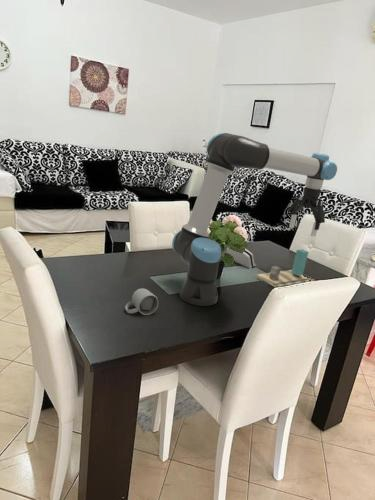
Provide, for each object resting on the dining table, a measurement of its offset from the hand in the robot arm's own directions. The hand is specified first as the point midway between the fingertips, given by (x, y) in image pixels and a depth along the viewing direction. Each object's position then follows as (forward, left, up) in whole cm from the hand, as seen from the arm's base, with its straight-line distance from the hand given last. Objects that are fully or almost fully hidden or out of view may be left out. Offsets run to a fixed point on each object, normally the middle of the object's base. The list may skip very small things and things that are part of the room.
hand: (301, 231), depth 185 cm
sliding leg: (+2, -1, -22) cm, 22 cm away
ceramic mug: (-87, -8, -24) cm, 91 cm away
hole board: (-6, -1, -24) cm, 25 cm away
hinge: (-14, +23, -24) cm, 36 cm away
